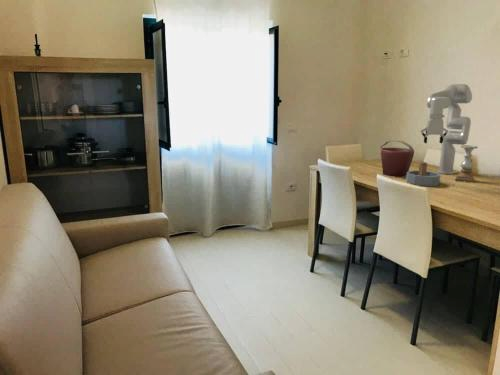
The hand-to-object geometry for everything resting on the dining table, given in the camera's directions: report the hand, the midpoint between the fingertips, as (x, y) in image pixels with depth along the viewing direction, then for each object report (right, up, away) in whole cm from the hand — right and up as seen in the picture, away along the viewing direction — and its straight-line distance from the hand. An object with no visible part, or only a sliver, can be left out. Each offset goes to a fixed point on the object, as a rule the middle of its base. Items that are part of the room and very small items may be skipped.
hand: (433, 143), depth 259 cm
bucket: (-14, -20, +30) cm, 39 cm away
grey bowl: (-6, -26, +3) cm, 27 cm away
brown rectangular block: (-6, -24, +5) cm, 25 cm away
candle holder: (+27, -25, +11) cm, 39 cm away
